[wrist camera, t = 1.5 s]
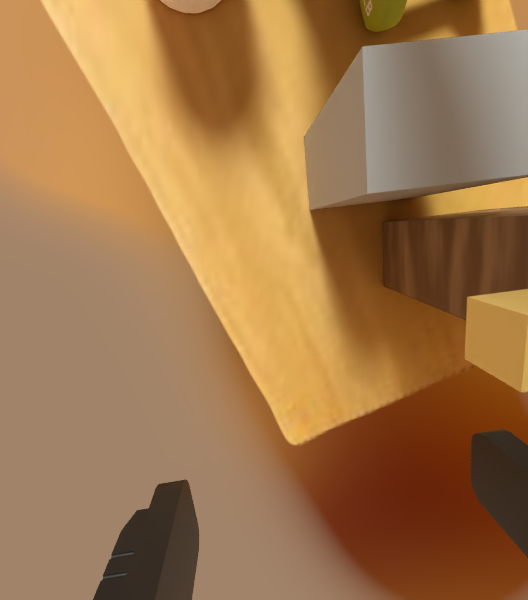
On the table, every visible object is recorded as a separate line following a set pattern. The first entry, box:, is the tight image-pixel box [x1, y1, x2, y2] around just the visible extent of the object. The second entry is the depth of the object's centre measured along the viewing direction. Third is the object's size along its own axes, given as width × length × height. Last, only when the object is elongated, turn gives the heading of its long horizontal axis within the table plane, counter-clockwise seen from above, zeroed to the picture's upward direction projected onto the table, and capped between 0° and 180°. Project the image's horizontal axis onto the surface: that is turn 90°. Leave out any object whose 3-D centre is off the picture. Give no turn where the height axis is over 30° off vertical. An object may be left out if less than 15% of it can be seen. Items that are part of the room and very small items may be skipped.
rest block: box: [304, 30, 528, 210], centre depth 34 cm, size 16×10×22 cm, turn 97°
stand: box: [382, 206, 528, 320], centre depth 32 cm, size 16×10×32 cm, turn 97°
